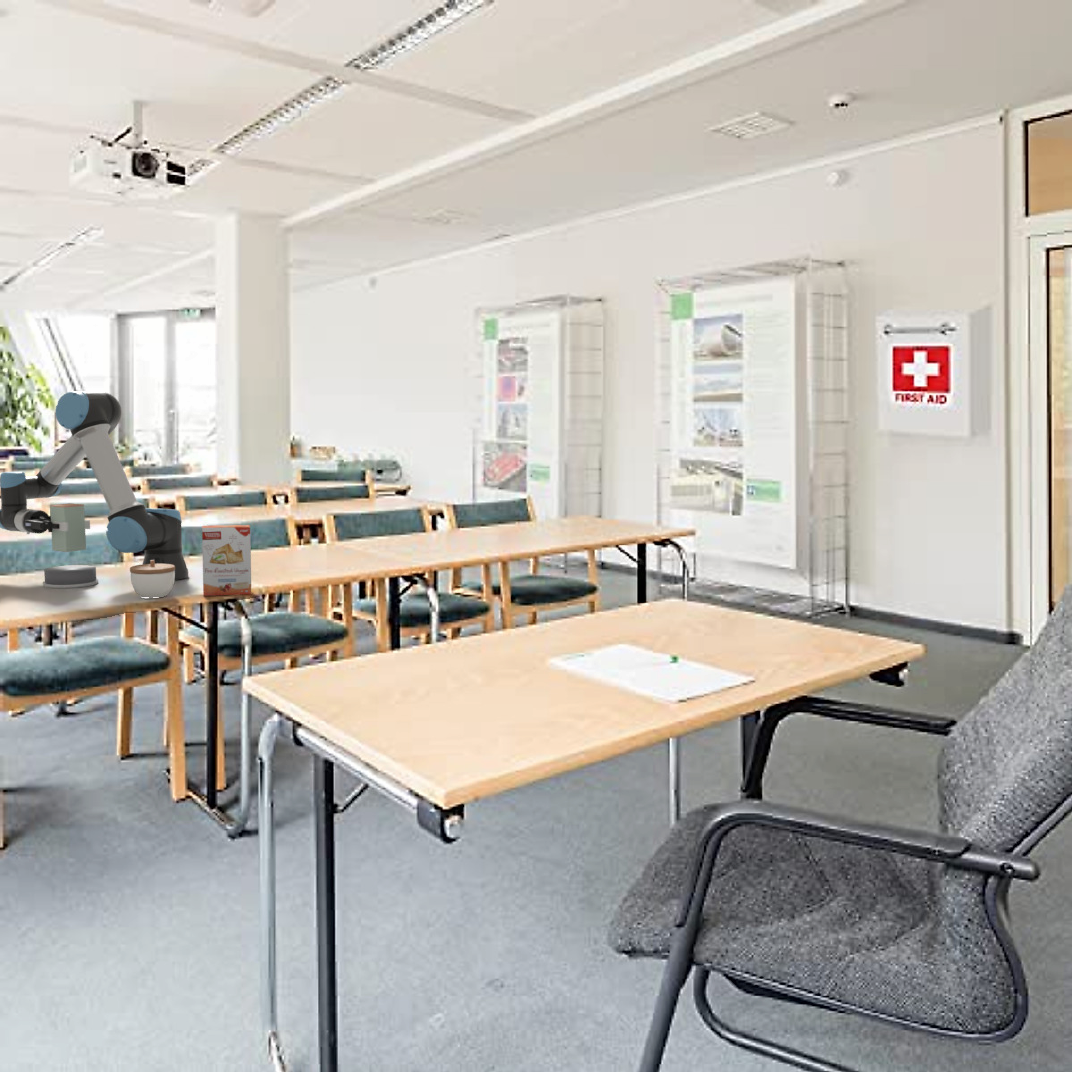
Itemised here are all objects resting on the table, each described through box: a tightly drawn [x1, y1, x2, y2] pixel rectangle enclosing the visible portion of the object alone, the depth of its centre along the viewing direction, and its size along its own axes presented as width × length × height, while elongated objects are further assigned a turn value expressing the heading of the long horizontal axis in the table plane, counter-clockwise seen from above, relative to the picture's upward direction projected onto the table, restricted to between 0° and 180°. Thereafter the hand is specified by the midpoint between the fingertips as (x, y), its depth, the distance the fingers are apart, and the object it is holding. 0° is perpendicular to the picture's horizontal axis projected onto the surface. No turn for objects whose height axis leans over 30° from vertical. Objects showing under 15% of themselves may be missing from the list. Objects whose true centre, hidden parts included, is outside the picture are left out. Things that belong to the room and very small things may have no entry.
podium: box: [42, 564, 99, 589], centre depth 332 cm, size 16×16×5 cm
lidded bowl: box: [129, 560, 176, 598], centre depth 310 cm, size 13×13×11 cm
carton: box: [49, 503, 87, 553], centre depth 330 cm, size 7×7×14 cm
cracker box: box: [201, 524, 252, 597], centre depth 315 cm, size 14×6×21 cm, turn 105°
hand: (78, 525), depth 327 cm, fingers closed on carton, 7 cm apart
